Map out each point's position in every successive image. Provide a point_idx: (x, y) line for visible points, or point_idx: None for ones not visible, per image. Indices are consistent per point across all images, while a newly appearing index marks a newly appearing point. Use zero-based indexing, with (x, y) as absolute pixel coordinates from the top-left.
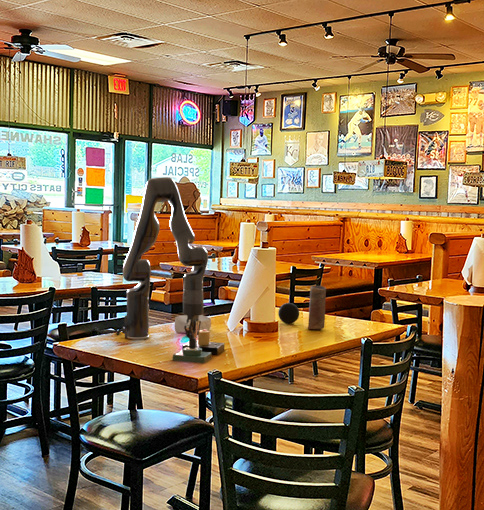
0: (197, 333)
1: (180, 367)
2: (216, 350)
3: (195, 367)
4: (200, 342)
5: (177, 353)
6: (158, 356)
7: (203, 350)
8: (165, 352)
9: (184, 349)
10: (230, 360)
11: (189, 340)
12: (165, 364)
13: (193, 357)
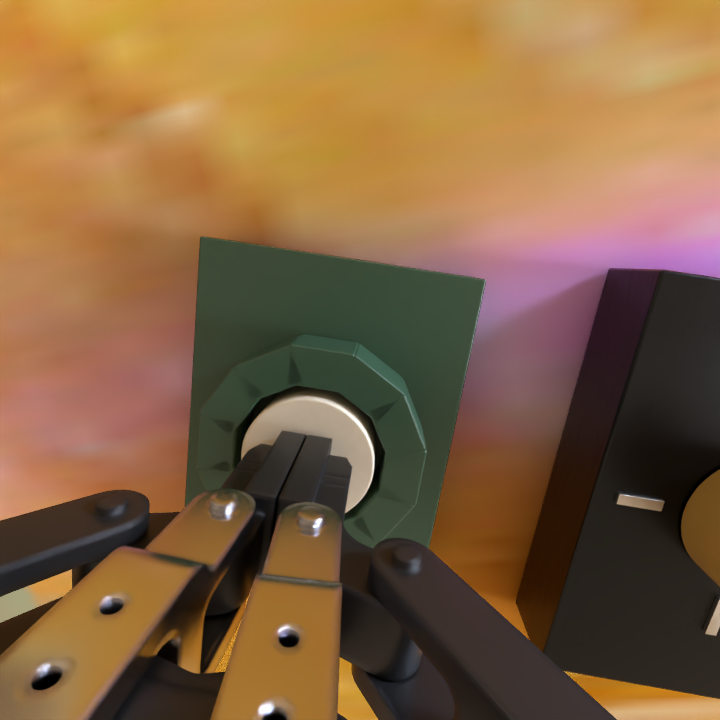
0: (354, 674)
1: (14, 357)
2: (533, 635)
3: (59, 475)
4: (717, 508)
5: (287, 274)
6: (405, 21)
7: (562, 509)
8: (636, 55)
9: (247, 373)
10: (364, 697)
11: (250, 481)
12: (71, 196)
13: (189, 460)
